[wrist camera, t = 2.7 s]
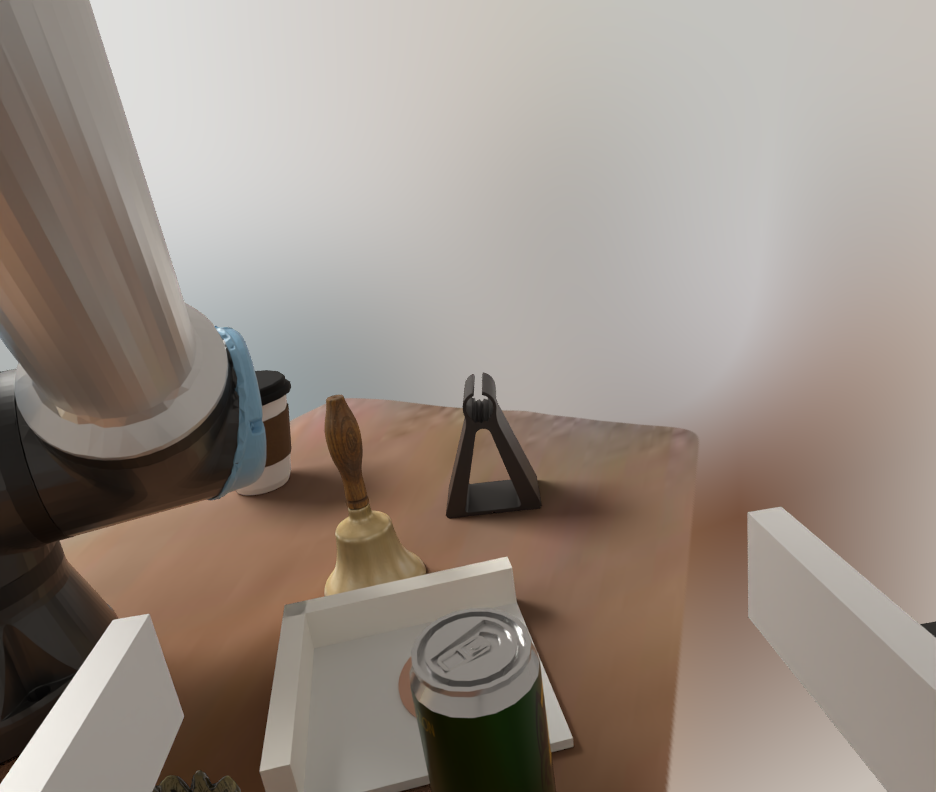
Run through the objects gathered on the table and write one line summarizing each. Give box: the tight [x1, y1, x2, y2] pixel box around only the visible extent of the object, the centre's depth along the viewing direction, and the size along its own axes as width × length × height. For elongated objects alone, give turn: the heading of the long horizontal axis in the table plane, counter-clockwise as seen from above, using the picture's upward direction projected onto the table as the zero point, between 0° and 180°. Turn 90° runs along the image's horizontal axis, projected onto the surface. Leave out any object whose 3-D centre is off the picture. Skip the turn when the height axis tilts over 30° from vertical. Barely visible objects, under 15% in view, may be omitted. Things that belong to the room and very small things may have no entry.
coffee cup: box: [235, 370, 291, 495], centre depth 73 cm, size 11×11×12 cm
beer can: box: [409, 608, 556, 792], centre depth 28 cm, size 5×5×12 cm
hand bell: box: [324, 395, 426, 596], centre depth 51 cm, size 8×8×16 cm
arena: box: [260, 557, 574, 792], centre depth 41 cm, size 16×14×4 cm
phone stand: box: [446, 373, 542, 518], centre depth 62 cm, size 9×6×12 cm, turn 88°
